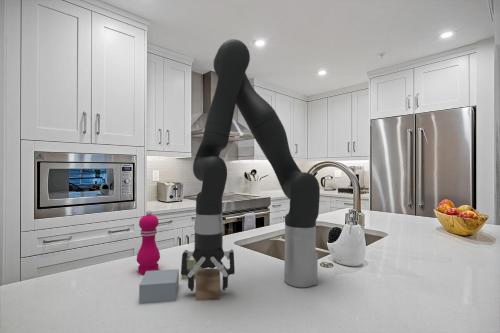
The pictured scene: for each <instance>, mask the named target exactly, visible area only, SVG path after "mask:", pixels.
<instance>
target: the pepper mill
mask: <svg viewBox="0 0 500 333" xmlns="http://www.w3.org/2000/svg"><path fill="white" fill-rule="evenodd" d="M159 223H160V222H159V218H158V217H157V216H156V215H154V214H153V212H152V210H150V209H148V210H147V211H146V212H145V215H143V216H141V218H140V219H139V221H138V226H139V228H140V229H141V230H140V235H141V237H142V238H141V241H142V242H141V245H140V248H139V249H138V252H137V255H136V262H137V263H138V267H137V268H138V269H137V271H138V274H140V275H144V274H145V272H146V271H155V270H159V263H158V262H159V261H160V260H161V253H160V250H159V248H158V245H157V243H156V235H157V234H158V232H157V227H158V226H159Z"/></svg>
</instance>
